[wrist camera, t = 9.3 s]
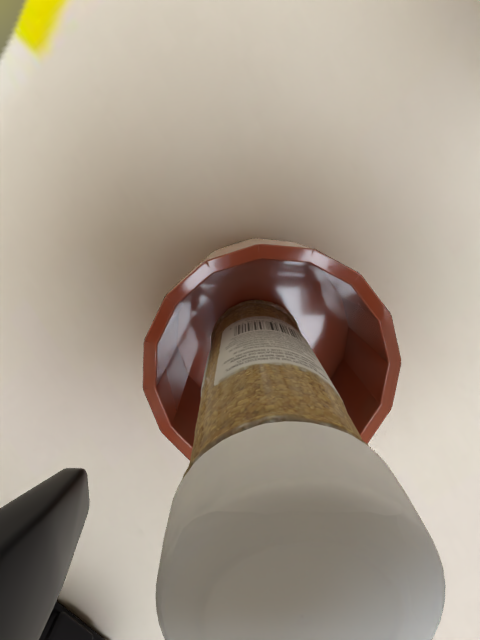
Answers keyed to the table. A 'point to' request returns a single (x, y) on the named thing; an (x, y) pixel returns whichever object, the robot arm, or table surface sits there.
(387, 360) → the cup
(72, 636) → the robot arm
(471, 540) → the table surface
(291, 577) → the sprinkles bottle
